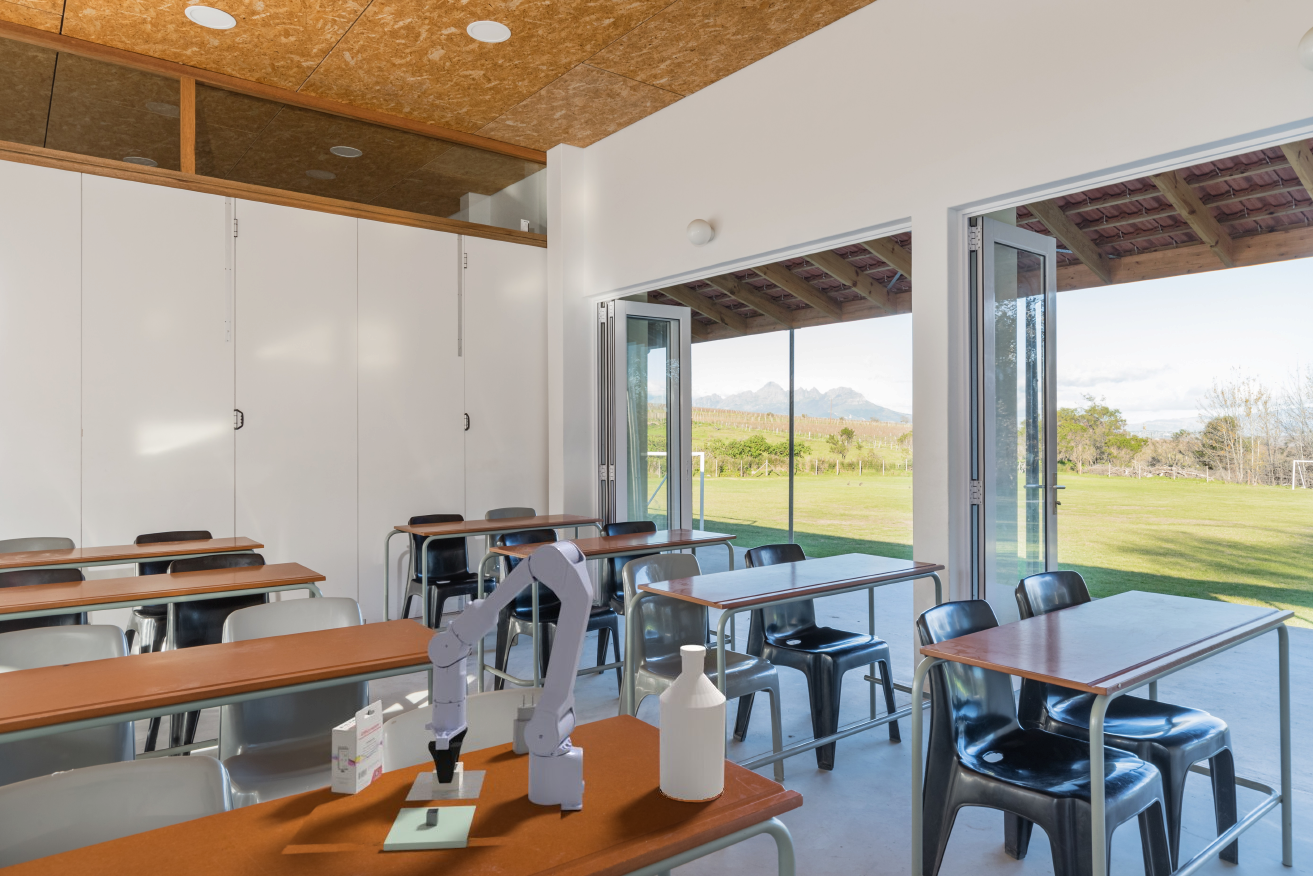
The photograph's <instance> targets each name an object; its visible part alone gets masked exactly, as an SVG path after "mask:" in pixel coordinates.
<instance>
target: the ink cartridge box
mask: <svg viewBox="0 0 1313 876" xmlns="http://www.w3.org/2000/svg"><path fill="white" fill-rule="evenodd" d="M368 712H372V714H368ZM383 722H384V716H383V705H382V700H381V699H379V700H377V701H376V702H372V703H371V704H370V705H367V706H365V707H364V708H362V709H360V710H358V711H357V712H355V715H354V717H352V718H350V719H349V720H346V721H345V722H343V723H341V724H339V725H337V726H336V727H333V728H332V729H331V793H338V794H349V795H350V794H351V795H356V794H358V793H359V792H361V791H363V790H364V789H366V787H368V786H369V785H371V784H372V783H373V782H375V781H376V780H377V779H379V778H380V777H382V775H383V773H382V772H383V735H384V734H383V733H384V732H383V731H384V730H383V727H384V725H383V724H384V723H383Z"/></svg>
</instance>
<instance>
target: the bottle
mask: <svg viewBox="0 0 1313 876" xmlns="http://www.w3.org/2000/svg"><path fill="white" fill-rule="evenodd" d="M679 648H680V650H679V651H680V653H679V655H680V656H681V673H680V674H679V675H678V677H677V678H676V679H675V680H673V682H672V683H671V684H670V685H669V686H668V687H667V688H666V689H665V690H664V691H663V692H661V694H659V790H660V789H661V790H662V792H664V793H665V794H667V795H668V796H671V797H673V798H678V799H683V800H703V799H707V798H712V797H715V796H717V795H718V794H720V793H721V792H722V791H723V788H724V789H725V787H724V785H725V784H724V783H725V749H726V739H725V738H726V707H727V705H726V704H727V698H726V696H725V695H724V694H723V693H722V692H721V691H720V690H719V689H718V688H717V687H716V686H715V685H714V684H713V682H712V681H711V680H710V678H708V676H707V675H706V674H705V673H704V669H705V665H704V663H705V657H706V656H707V655H706V654H707V651H706V650H707V649H706V647H705V646H703V645H698V644H697V645H696V644H687V645H682V646H680V647H679ZM723 792H724V791H723Z"/></svg>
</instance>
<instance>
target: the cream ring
mask: <svg viewBox="0 0 1313 876" xmlns="http://www.w3.org/2000/svg"><path fill="white" fill-rule="evenodd" d="M463 771H464V762H463V761H458V762H456V763H455V769H454V775H453V779H452V782H451V783H439V781H438V777H437V772H436V766H434V768H433V771H431V772H432V791H433V790H459V788H460V786H461V783H462V780H463Z"/></svg>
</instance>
